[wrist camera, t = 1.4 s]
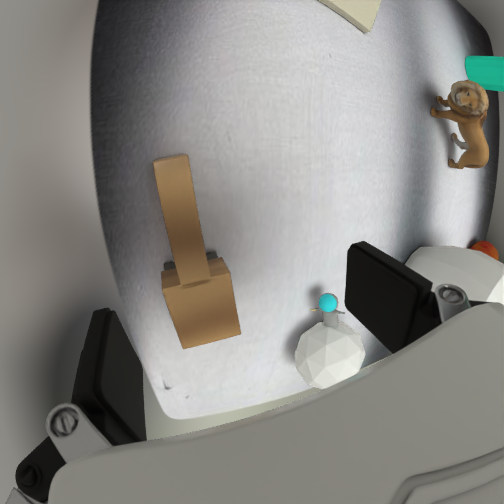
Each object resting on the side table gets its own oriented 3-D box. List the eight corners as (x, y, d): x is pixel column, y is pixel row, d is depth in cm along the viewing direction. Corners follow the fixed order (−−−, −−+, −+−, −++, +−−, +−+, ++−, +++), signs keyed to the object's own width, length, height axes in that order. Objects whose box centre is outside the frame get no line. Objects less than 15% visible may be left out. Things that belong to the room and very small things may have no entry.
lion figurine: (412, 92, 23) (475, 94, 15) (427, 72, 22) (485, 71, 15) (452, 177, 30) (502, 194, 22) (464, 154, 29) (512, 168, 22)
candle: (462, 50, 22) (523, 52, 12) (477, 63, 24) (532, 68, 14) (466, 82, 25) (529, 89, 14) (480, 93, 26) (537, 102, 16)
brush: (137, 162, 19) (130, 167, 15) (200, 148, 20) (210, 150, 16) (178, 317, 25) (183, 349, 21) (228, 304, 26) (241, 334, 22)
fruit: (456, 271, 39) (487, 290, 32) (467, 235, 37) (501, 252, 30) (470, 267, 41) (498, 284, 34) (480, 235, 39) (510, 250, 32)
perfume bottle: (286, 393, 29) (269, 312, 25) (317, 351, 35) (308, 274, 31) (346, 411, 24) (349, 328, 20) (370, 362, 30) (374, 280, 26)
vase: (413, 318, 39) (513, 407, 17) (363, 310, 33) (496, 441, 11) (451, 241, 35) (568, 314, 13) (411, 211, 29) (582, 306, 7)
